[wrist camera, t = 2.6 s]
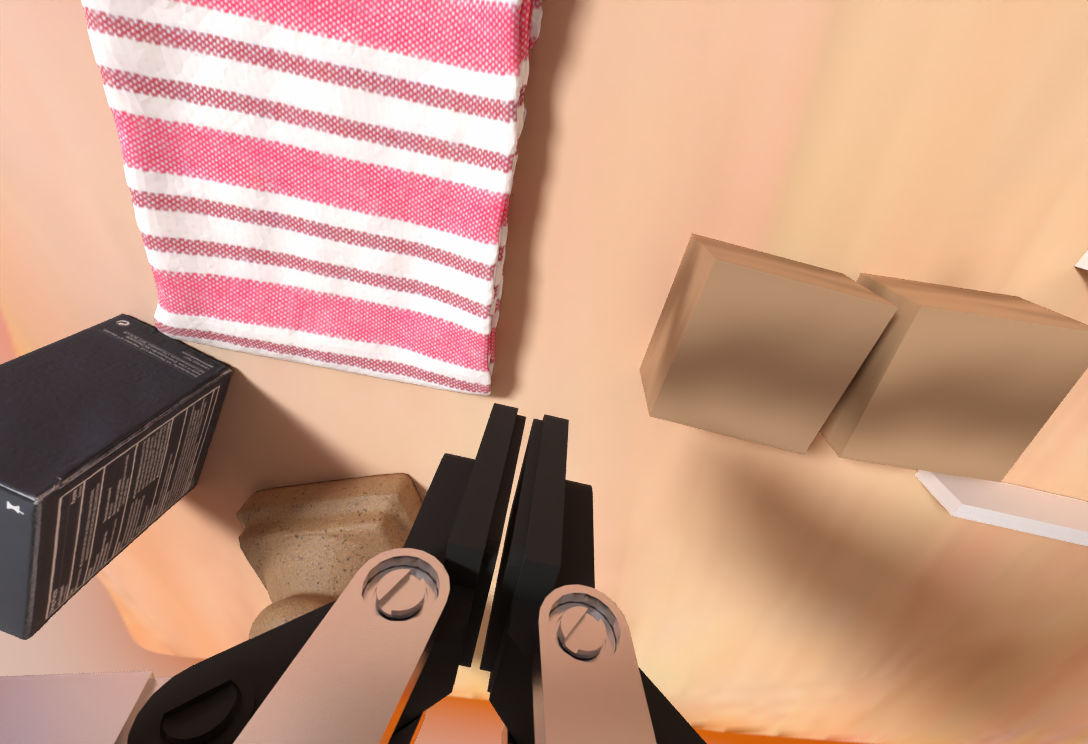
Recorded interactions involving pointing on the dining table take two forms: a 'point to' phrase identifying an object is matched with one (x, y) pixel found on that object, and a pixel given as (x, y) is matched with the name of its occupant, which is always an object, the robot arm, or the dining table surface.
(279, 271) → the dish towel
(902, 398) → the tile
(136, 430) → the small box
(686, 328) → the tile
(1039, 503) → the tray
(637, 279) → the dining table surface
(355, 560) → the candle holder
